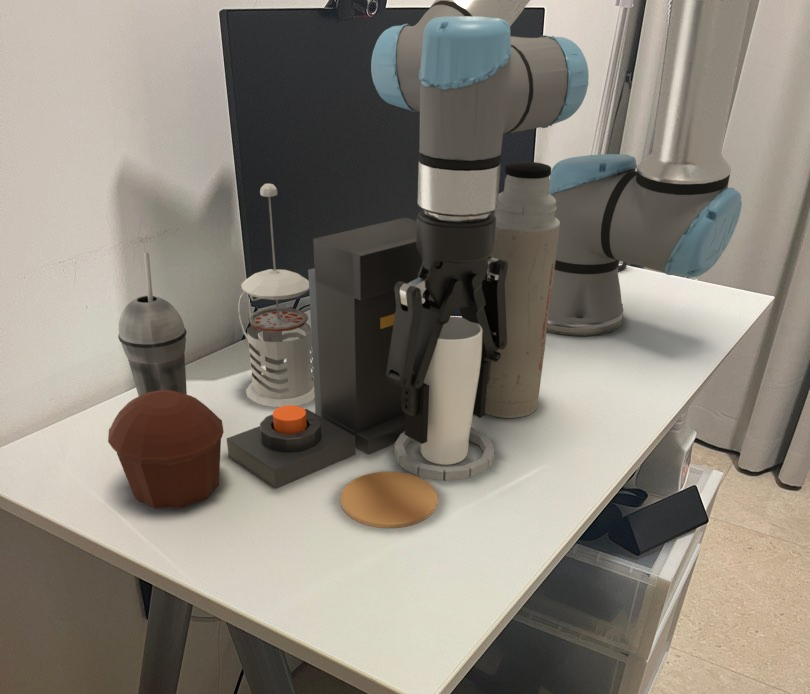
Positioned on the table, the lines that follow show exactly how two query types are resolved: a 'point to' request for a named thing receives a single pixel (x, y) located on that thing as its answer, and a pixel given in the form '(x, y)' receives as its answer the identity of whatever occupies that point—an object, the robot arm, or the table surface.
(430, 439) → the drinking glass
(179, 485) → the muffin
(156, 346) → the beverage cup
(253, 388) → the french press
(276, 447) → the power switch
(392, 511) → the disc
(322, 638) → the table surface
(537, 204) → the thermos bottle
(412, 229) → the coffee maker
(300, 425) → the power button
